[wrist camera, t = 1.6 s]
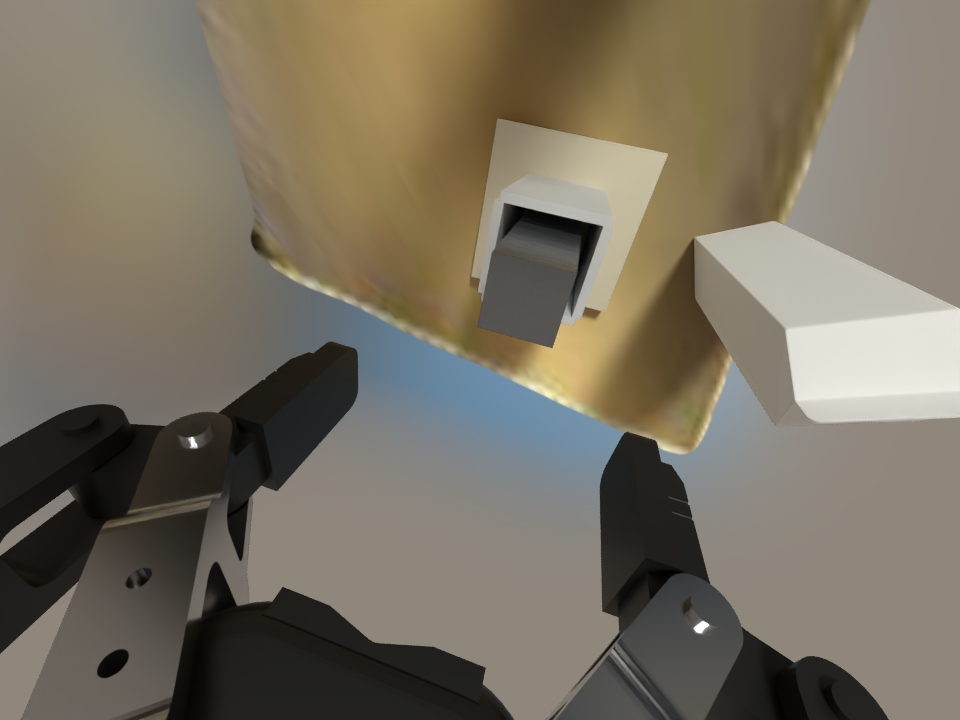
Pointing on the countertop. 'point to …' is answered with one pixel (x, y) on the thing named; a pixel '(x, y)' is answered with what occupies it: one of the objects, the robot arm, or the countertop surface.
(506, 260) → the steel post
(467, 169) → the countertop surface
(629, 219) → the sleeve stand
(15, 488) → the robot arm
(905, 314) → the milk
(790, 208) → the countertop surface
